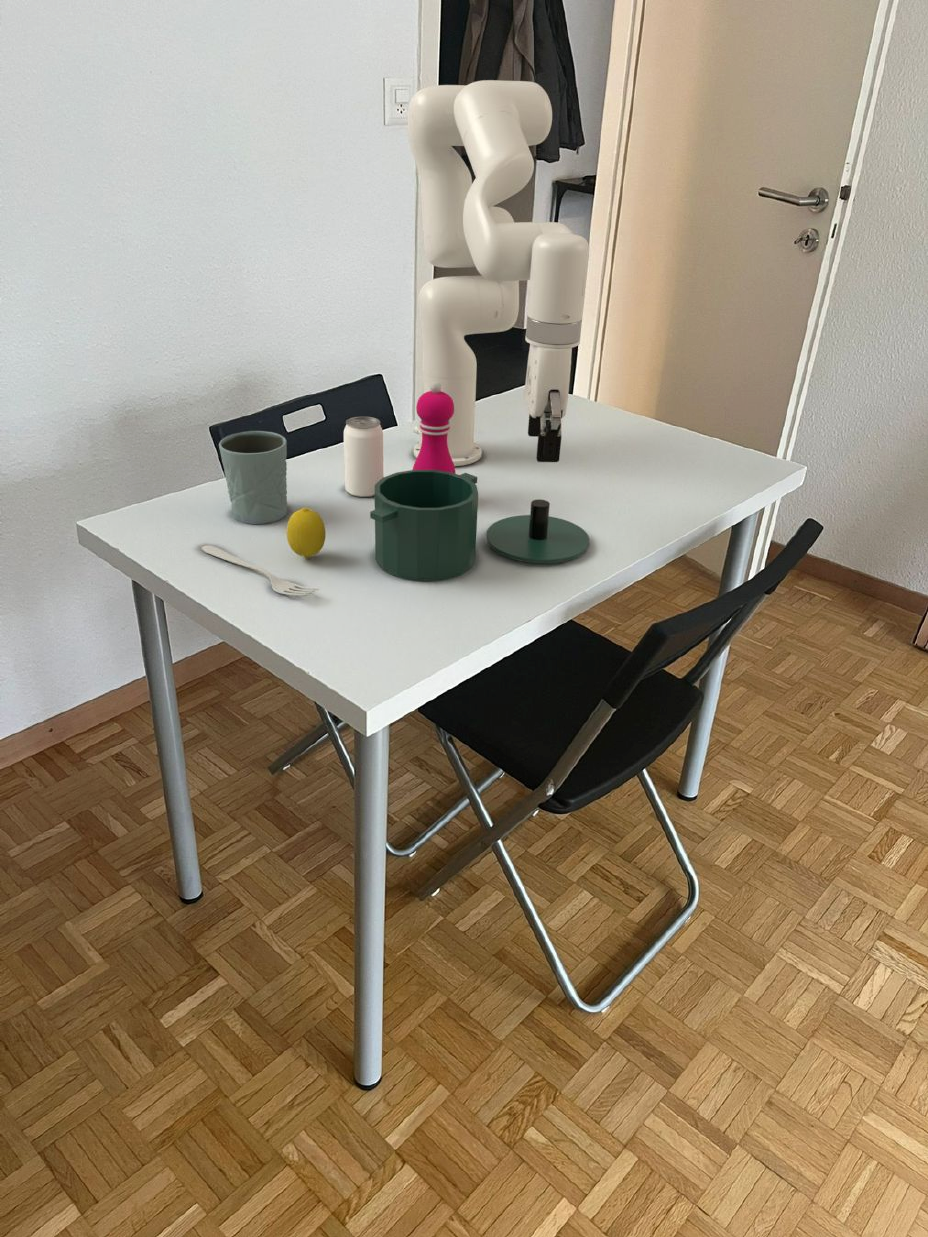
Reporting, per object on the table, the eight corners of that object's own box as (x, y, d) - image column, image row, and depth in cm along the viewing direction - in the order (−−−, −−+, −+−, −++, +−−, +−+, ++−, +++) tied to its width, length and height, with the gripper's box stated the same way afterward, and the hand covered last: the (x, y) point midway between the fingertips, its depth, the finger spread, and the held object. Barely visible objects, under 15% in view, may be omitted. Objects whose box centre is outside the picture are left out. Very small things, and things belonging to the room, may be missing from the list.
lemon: (319, 568, 140) (317, 517, 136) (282, 564, 141) (279, 513, 137) (331, 552, 145) (329, 502, 141) (296, 547, 146) (293, 498, 141)
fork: (212, 543, 146) (211, 532, 145) (322, 599, 132) (321, 587, 132) (194, 550, 144) (193, 539, 143) (304, 607, 130) (303, 596, 129)
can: (353, 500, 161) (352, 430, 155) (339, 486, 166) (337, 418, 160) (389, 494, 164) (389, 425, 158) (374, 480, 169) (373, 413, 163)
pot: (341, 564, 141) (339, 494, 136) (433, 523, 155) (435, 457, 149) (415, 598, 133) (415, 525, 128) (505, 551, 147) (510, 483, 141)
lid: (464, 543, 149) (466, 503, 145) (527, 513, 159) (530, 474, 156) (548, 577, 140) (552, 535, 137) (608, 543, 151) (613, 502, 147)
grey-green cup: (300, 519, 154) (296, 446, 148) (238, 531, 150) (232, 457, 144) (276, 496, 162) (271, 426, 156) (217, 507, 157) (209, 436, 151)
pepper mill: (402, 499, 162) (403, 381, 152) (433, 488, 167) (435, 372, 157) (433, 513, 158) (436, 392, 148) (464, 500, 163) (468, 382, 153)
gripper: (518, 313, 140) (510, 426, 149) (534, 348, 126) (524, 471, 135) (570, 314, 141) (559, 427, 150) (591, 349, 126) (578, 472, 135)
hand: (542, 448), depth 142 cm, fingers open, 9 cm apart
